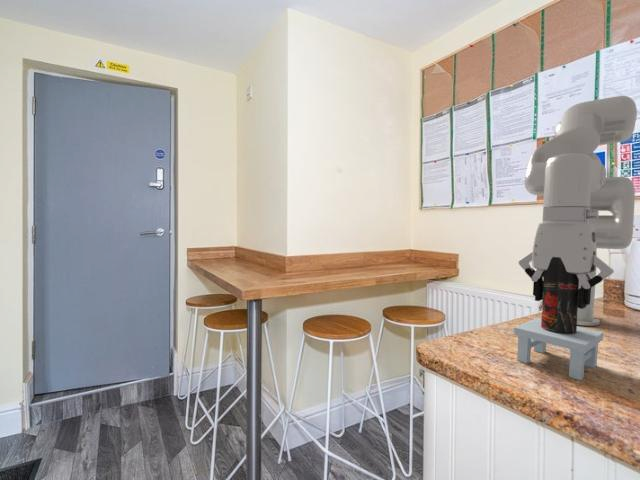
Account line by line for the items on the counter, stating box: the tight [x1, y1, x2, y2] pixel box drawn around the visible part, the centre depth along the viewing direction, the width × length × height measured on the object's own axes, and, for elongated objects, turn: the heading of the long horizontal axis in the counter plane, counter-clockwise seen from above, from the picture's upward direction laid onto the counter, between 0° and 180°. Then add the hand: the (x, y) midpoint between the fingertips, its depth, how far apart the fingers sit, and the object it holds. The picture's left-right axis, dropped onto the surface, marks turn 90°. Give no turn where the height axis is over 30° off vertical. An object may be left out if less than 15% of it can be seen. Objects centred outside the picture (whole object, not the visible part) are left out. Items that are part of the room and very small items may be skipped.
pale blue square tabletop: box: [513, 317, 604, 381], centre depth 68 cm, size 12×12×7 cm
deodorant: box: [541, 257, 579, 334], centre depth 68 cm, size 6×6×15 cm
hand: (559, 303), depth 68 cm, fingers open, 6 cm apart
